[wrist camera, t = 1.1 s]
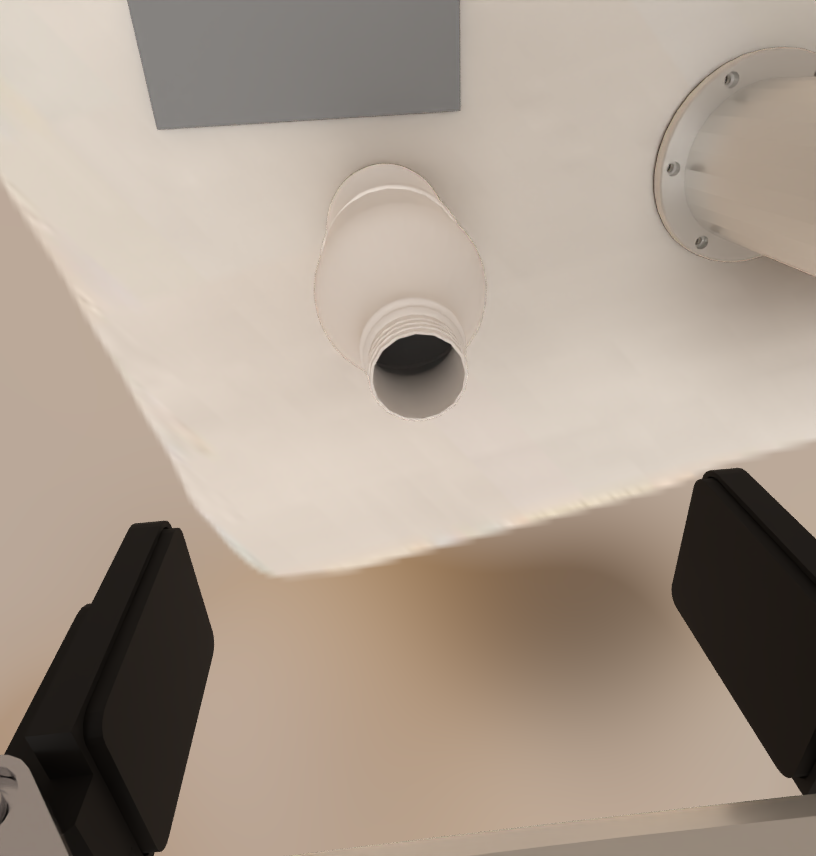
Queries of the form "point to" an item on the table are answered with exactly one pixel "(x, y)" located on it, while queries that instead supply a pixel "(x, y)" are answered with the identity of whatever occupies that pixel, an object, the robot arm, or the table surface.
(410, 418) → the water bottle
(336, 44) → the board
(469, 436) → the table surface
